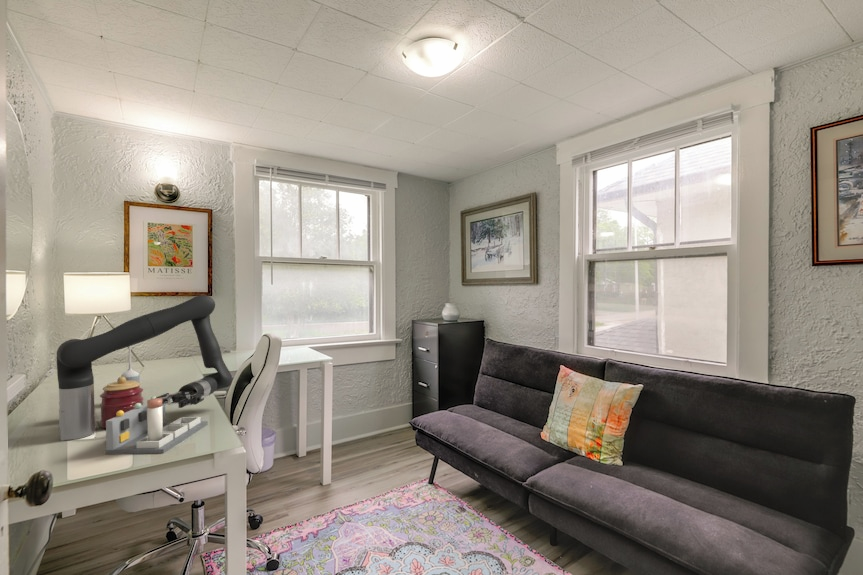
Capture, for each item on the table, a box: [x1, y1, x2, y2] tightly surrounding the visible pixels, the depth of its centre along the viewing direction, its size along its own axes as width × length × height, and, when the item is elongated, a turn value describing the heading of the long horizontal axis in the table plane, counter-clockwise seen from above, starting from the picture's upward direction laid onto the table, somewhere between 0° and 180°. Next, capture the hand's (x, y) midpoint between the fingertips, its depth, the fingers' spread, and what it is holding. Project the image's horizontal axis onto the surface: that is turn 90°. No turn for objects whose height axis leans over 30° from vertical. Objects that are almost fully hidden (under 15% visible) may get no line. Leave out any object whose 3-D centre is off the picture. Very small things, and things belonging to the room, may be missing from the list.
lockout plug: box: [146, 398, 163, 441], centre depth 131 cm, size 4×4×14 cm
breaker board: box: [104, 395, 209, 455], centre depth 139 cm, size 25×18×12 cm
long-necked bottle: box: [120, 346, 141, 388], centre depth 179 cm, size 8×8×25 cm
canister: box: [99, 376, 144, 429], centre depth 154 cm, size 13×13×18 cm
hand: (166, 405), depth 137 cm, fingers open, 8 cm apart
